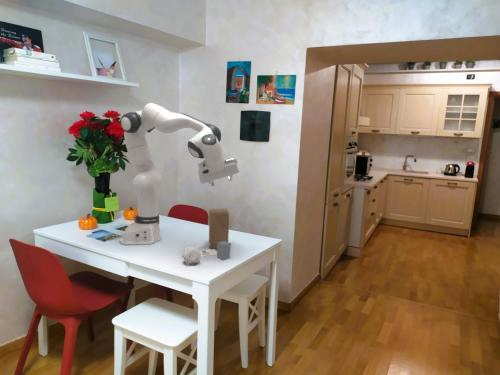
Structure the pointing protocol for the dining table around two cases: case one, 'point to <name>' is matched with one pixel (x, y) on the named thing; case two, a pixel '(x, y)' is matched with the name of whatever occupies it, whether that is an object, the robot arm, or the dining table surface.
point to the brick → (223, 250)
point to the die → (191, 255)
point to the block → (218, 226)
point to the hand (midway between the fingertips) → (221, 182)
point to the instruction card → (208, 252)
